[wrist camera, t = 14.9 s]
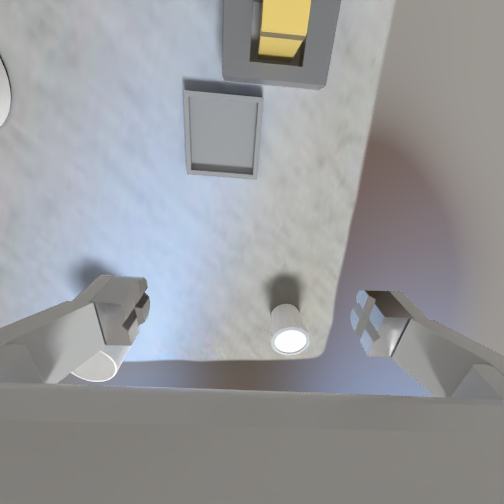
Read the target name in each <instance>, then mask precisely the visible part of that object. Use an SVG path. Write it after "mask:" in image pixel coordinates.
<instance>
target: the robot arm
mask: <svg viewBox="0 0 504 504" xmlns="http://www.w3.org/2000/svg"><path fill="white" fill-rule="evenodd" d="M10 103H11V93H10V86H9V81H8V77H7V74H6V71H5V68H4V66H3V63H2V61H1V59H0V126H1V125H2V124H3V123H4V121H5V120H6V118H7V116H8V113H9V109H10ZM147 288H148V286H147V281H146V279H145V278H144V277H131V276H118V275H117V276H116V275H99V276H98V277H97V278H96V279H95V280H94V281H93V282H92V283H91V284H90V285H89V286H87V287H86V288H85V289H84V290H83V291H82V292H81V293H80V294H79V295H78V296H77V297H76V298H75V299H74V300H72V301H66V302H63V303H61V304H58V305H56V306H53V307H51V308H49V309H46V310H44V311H41V312H39V313H36V314H34V315H31V316H29V317H26V318H24V319H21V320H19V321H17V322H14V323H12V324H9V325H7V326H4V327H2V328H0V504H504V356H503V355H501V354H499V353H497V352H495V351H493V350H491V349H489V348H487V347H485V346H483V345H482V344H480V343H478V342H476V341H474V340H472V339H470V338H468V337H466V336H464V335H462V334H460V333H458V332H456V331H454V330H452V329H451V328H448V327H447V326H444V325H443V324H441V323H439V322H437V321H435V320H429V319H428V318H427V317H426V315H425V314H424V313H422V311H421V310H419V308H418V307H417V306H416V305H414V303H413V302H412V301H411V300H409V298H408V297H407V296H406V295H405V294H404V293H402V292H400V291H372V290H370V291H369V290H360V291H359V292H358V294H357V297H356V300H357V302H358V304H357V305H355V306H354V307H353V308H352V312H351V324H352V327H353V329H354V331H355V332H356V333H357V334H358V335H360V336H361V339H360V342H361V344H362V346H363V348H364V350H365V352H366V353H367V355H368V356H375V357H389V358H391V359H392V360H393V361H394V362H395V363H397V364H398V365H399V366H400V367H401V368H402V369H403V370H405V371H406V372H407V373H408V374H409V375H410V376H411V377H413V378H414V379H415V380H416V381H417V382H418V383H420V384H421V385H422V386H423V387H424V388H425V389H426V390H428V391H429V392H430V393H431V394H432V395H433V396H435V397H418V396H391V395H362V394H335V393H308V392H306V393H305V392H279V391H249V390H222V389H220V390H219V389H193V388H164V387H163V388H162V387H136V386H107V385H105V386H104V385H77V384H56V383H58V382H59V381H60V380H62V379H63V378H64V377H65V376H67V375H68V374H69V373H71V372H72V371H74V370H75V369H76V368H78V367H79V366H80V365H82V364H83V363H84V362H86V361H87V360H88V359H90V358H91V357H92V356H94V355H95V354H96V353H98V352H99V351H100V350H102V349H103V348H104V347H105V345H111V346H131V345H132V344H133V342H134V340H135V338H136V336H137V335H138V333H139V325H141V324H142V323H144V322H145V320H146V318H147V316H148V313H149V309H150V300H149V296H148V295H147V294H146V293H145V291H146V289H147Z"/></svg>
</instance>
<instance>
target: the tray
mask: <svg viewBox="0 0 504 504" xmlns="http://www.w3.org/2000/svg"><path fill="white" fill-rule="evenodd" d="M183 96H184V119H185V141H186V164H187V174H192V175H205V176H218V177H230V178H243V179H256V180H257V170H258V158H259V147H260V135H261V123H262V111H263V99H264V98H262V97H251V96H241V95H230V94H220V93H209V92H198V91H188V90H183Z"/></svg>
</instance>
